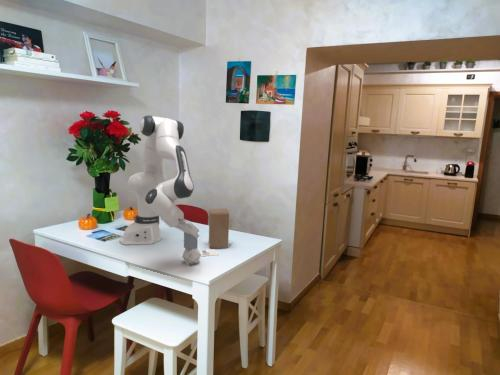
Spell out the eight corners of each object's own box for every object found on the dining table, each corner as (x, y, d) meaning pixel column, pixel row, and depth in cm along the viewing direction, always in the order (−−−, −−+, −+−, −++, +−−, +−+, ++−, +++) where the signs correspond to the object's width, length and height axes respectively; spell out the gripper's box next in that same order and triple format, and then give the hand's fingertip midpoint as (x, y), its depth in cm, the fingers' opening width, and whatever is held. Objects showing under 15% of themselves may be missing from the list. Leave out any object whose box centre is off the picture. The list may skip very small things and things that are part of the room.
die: (178, 263, 176) (180, 252, 170) (186, 250, 183) (189, 239, 176) (193, 271, 176) (196, 260, 169) (201, 257, 182) (204, 246, 175)
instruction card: (195, 257, 184) (195, 256, 184) (192, 251, 191) (192, 251, 191) (218, 254, 188) (218, 254, 188) (214, 249, 196) (214, 249, 196)
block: (228, 248, 199) (229, 212, 195) (209, 248, 197) (210, 212, 194) (226, 242, 208) (227, 208, 205) (208, 243, 207) (209, 208, 204)
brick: (189, 249, 172) (189, 233, 170) (183, 247, 175) (183, 231, 174) (197, 248, 175) (197, 231, 174) (192, 245, 178) (192, 229, 177)
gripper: (190, 216, 160) (208, 234, 168) (167, 207, 175) (184, 224, 183) (181, 227, 157) (200, 245, 165) (158, 217, 172) (176, 234, 181)
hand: (192, 234), depth 174 cm, fingers open, 8 cm apart
